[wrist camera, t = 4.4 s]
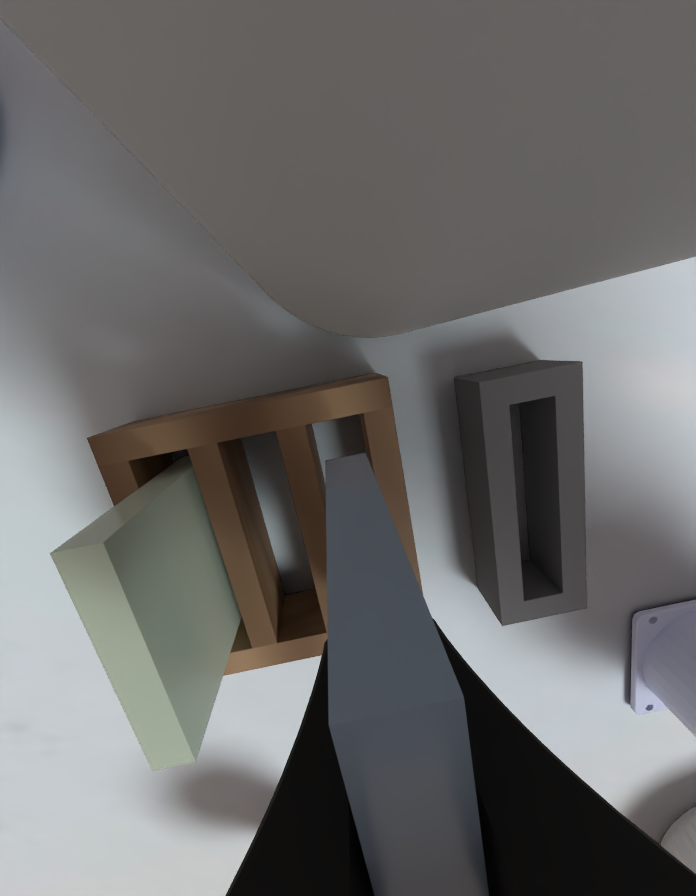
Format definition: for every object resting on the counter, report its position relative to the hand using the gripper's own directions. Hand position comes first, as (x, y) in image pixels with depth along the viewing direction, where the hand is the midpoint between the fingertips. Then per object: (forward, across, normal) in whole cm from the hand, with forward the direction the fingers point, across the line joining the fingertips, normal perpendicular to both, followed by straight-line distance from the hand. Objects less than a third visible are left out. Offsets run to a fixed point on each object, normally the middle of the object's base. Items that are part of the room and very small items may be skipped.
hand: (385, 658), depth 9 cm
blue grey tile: (+5, 0, 0) cm, 5 cm away
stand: (+10, -8, +1) cm, 13 cm away
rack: (+10, +4, 0) cm, 11 cm away
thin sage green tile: (+10, +7, 0) cm, 13 cm away
